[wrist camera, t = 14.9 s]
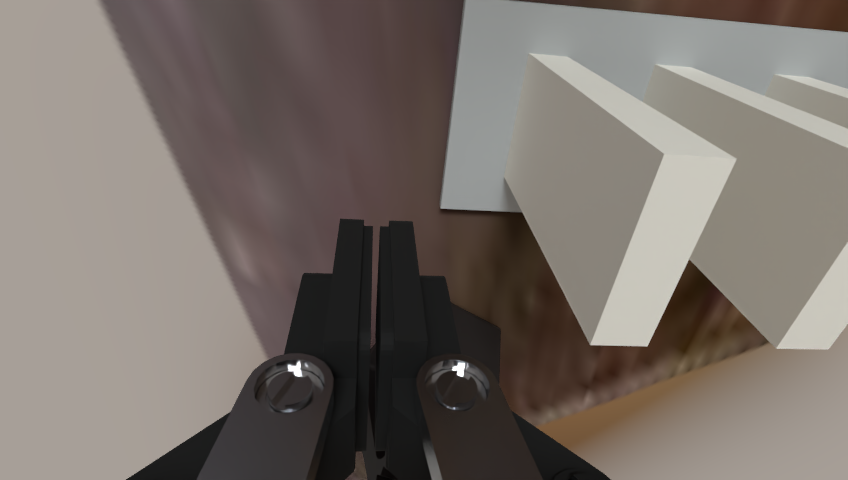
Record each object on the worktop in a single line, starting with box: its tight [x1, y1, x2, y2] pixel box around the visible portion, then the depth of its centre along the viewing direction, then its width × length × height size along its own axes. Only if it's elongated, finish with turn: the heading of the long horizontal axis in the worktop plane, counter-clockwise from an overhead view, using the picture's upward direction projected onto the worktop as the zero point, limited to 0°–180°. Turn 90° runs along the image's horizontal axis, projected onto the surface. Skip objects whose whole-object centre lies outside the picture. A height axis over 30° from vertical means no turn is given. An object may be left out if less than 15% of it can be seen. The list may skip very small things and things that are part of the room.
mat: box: [440, 0, 848, 212], centre depth 24 cm, size 30×10×1 cm, turn 85°
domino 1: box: [504, 53, 737, 346], centre depth 17 cm, size 2×6×12 cm, turn 175°
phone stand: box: [362, 303, 501, 480], centre depth 26 cm, size 9×6×12 cm, turn 144°
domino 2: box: [643, 64, 848, 349], centre depth 18 cm, size 2×6×12 cm, turn 175°
